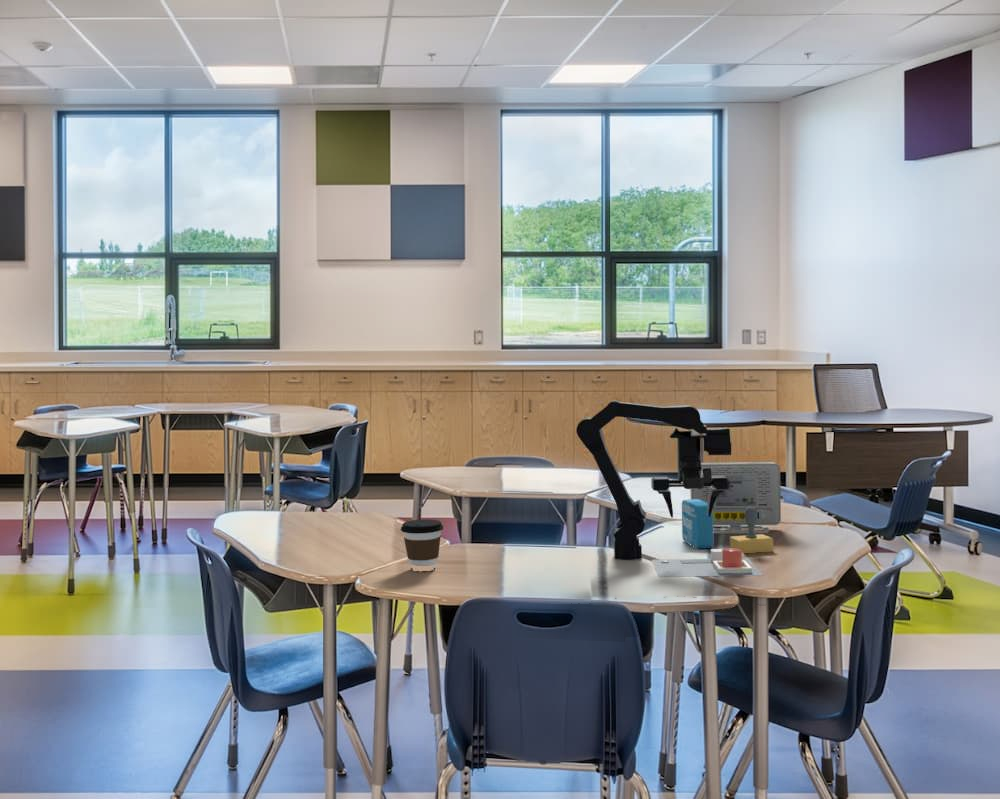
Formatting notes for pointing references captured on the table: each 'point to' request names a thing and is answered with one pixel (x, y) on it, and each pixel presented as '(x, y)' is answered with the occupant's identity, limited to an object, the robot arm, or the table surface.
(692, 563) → the breaker panel
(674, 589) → the table surface
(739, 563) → the cap
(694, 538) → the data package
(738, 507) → the network device
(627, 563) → the table surface
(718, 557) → the block
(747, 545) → the rubber stamp
